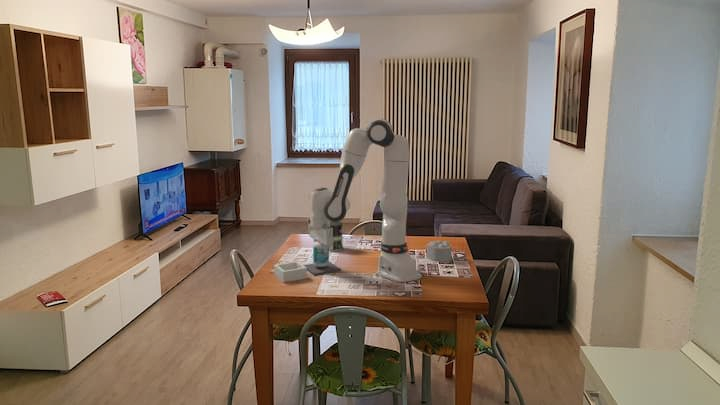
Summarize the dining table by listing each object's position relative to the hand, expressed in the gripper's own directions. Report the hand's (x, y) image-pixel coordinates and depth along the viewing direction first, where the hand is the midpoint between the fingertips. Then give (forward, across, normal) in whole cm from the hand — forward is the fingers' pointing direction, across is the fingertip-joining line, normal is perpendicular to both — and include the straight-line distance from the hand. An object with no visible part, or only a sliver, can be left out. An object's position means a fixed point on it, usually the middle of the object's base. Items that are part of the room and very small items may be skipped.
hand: (321, 250), depth 264 cm
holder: (+9, -3, +17) cm, 20 cm away
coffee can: (+10, +28, -20) cm, 36 cm away
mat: (+9, 0, 0) cm, 9 cm away
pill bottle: (+7, 0, 0) cm, 7 cm away
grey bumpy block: (+10, -15, -59) cm, 62 cm away
